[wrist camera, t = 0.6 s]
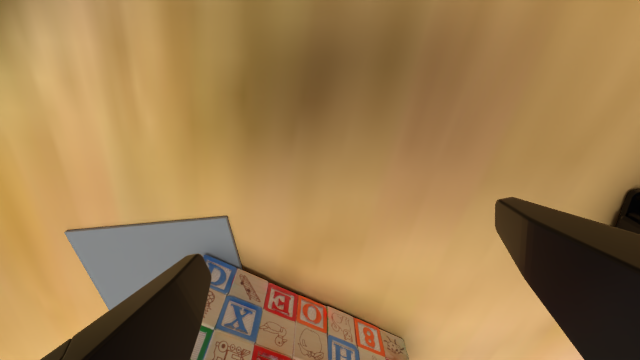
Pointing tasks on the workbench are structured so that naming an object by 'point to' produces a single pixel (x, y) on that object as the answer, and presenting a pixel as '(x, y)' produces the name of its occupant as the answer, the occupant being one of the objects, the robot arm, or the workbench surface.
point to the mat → (147, 251)
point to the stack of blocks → (281, 324)
